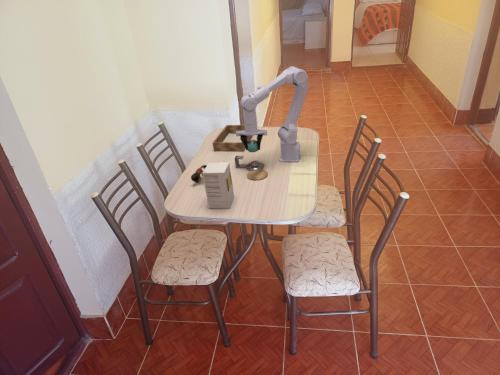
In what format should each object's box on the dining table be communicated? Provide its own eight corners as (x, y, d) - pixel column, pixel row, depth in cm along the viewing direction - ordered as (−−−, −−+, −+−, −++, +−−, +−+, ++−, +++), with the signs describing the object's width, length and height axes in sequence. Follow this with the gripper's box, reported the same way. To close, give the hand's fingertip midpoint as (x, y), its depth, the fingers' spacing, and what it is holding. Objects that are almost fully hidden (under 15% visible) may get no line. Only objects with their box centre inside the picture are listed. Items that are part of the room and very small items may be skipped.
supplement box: (230, 209, 146) (224, 173, 137) (208, 208, 148) (201, 173, 139) (234, 196, 154) (229, 161, 145) (214, 196, 156) (207, 162, 147)
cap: (257, 152, 168) (257, 143, 165) (247, 152, 168) (246, 143, 166) (260, 143, 176) (260, 135, 174) (250, 143, 177) (249, 135, 175)
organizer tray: (254, 132, 213) (253, 124, 211) (243, 151, 192) (242, 143, 189) (227, 132, 217) (226, 125, 215) (213, 151, 196) (212, 143, 194)
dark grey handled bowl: (265, 163, 178) (265, 153, 175) (262, 171, 170) (261, 161, 167) (238, 162, 181) (237, 152, 178) (234, 170, 174) (232, 160, 171)
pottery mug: (202, 174, 175) (207, 161, 171) (214, 187, 172) (220, 174, 168) (183, 179, 166) (189, 166, 162) (196, 192, 163) (202, 179, 158)
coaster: (269, 170, 171) (269, 169, 170) (265, 180, 162) (265, 179, 162) (249, 169, 173) (249, 168, 173) (244, 180, 165) (244, 179, 165)
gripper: (267, 118, 165) (269, 145, 172) (236, 119, 168) (240, 146, 175) (265, 124, 159) (267, 151, 166) (233, 125, 162) (237, 152, 169)
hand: (253, 149), depth 170 cm, fingers closed on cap, 5 cm apart
